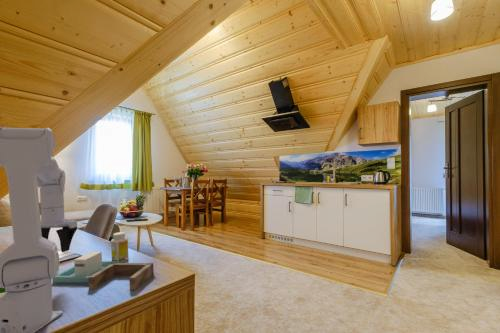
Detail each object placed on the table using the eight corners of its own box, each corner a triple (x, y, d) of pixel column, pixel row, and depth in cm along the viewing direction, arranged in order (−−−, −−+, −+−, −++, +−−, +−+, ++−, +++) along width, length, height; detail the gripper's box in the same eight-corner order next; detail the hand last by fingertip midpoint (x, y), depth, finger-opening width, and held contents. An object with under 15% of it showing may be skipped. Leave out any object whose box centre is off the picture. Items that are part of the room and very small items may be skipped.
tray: (91, 284, 75) (91, 277, 75) (52, 283, 76) (52, 277, 76) (119, 266, 87) (119, 260, 87) (85, 266, 89) (85, 260, 89)
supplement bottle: (130, 257, 96) (129, 230, 96) (125, 262, 91) (123, 234, 91) (115, 258, 96) (114, 231, 96) (108, 264, 90) (107, 235, 90)
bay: (134, 290, 70) (134, 277, 70) (88, 289, 71) (88, 277, 71) (153, 274, 80) (153, 263, 80) (113, 273, 82) (112, 262, 82)
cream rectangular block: (84, 278, 78) (83, 260, 78) (73, 278, 78) (72, 260, 78) (102, 268, 85) (101, 251, 85) (91, 267, 86) (90, 251, 86)
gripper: (84, 204, 81) (85, 246, 81) (43, 205, 82) (45, 246, 82) (65, 208, 74) (67, 254, 74) (21, 209, 75) (23, 254, 75)
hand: (54, 251), depth 78 cm, fingers open, 7 cm apart
